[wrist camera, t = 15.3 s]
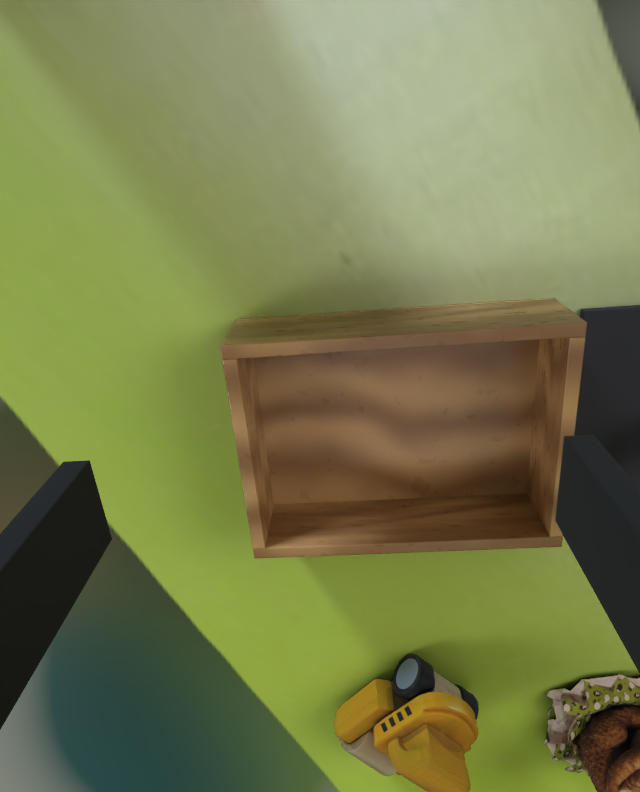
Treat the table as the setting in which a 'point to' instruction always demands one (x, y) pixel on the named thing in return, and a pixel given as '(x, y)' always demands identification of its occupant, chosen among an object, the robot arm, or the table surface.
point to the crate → (404, 426)
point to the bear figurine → (599, 731)
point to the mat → (612, 384)
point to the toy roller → (412, 727)
